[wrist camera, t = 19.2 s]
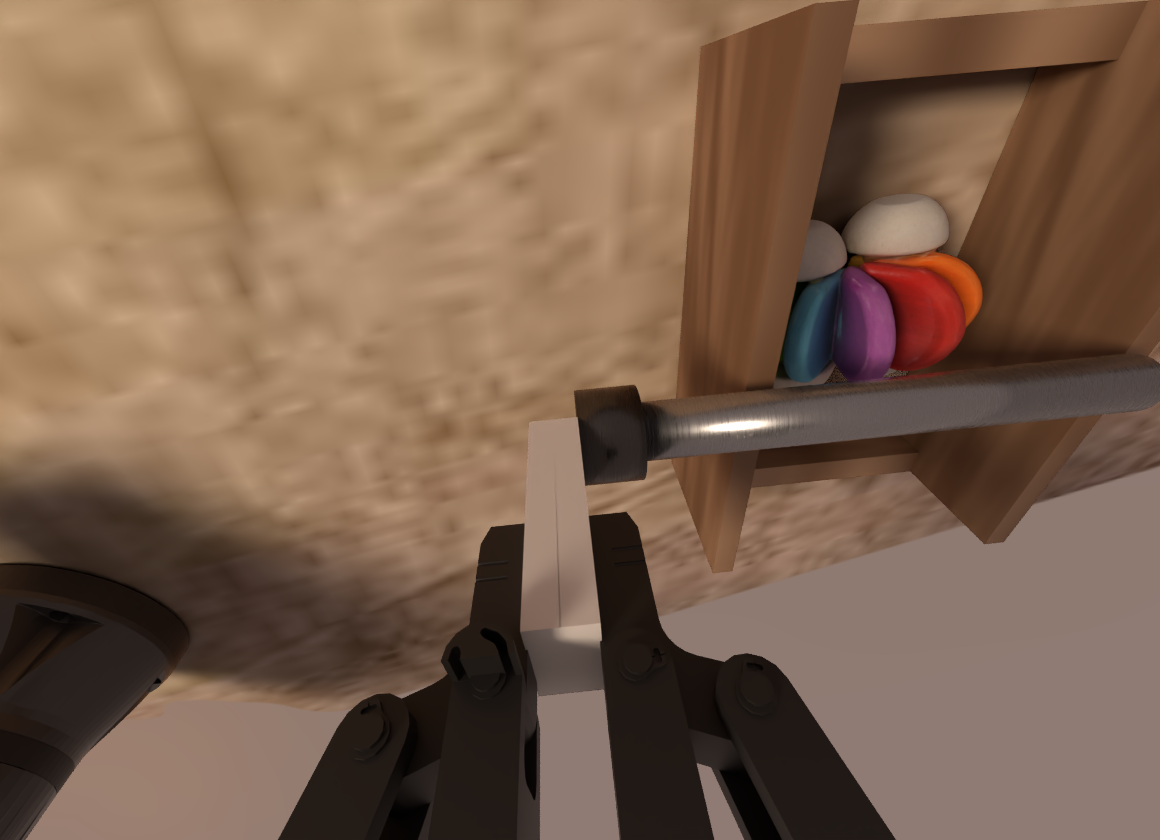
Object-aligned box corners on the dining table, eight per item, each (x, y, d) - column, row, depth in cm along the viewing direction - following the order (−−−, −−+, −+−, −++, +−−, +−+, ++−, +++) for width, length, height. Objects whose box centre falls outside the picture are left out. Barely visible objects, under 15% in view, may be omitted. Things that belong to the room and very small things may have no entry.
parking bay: (671, 461, 29) (712, 573, 22) (700, 46, 17) (814, 3, 10) (893, 439, 29) (1003, 541, 22) (1085, 14, 17) (1464, -52, 10)
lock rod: (578, 445, 17) (585, 506, 14) (572, 373, 15) (578, 428, 12) (1057, 396, 17) (1148, 447, 15) (1109, 320, 15) (1224, 363, 13)
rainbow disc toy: (894, 340, 25) (1003, 412, 19) (724, 379, 26) (779, 460, 20) (930, 175, 20) (1093, 204, 14) (719, 229, 21) (790, 278, 15)
